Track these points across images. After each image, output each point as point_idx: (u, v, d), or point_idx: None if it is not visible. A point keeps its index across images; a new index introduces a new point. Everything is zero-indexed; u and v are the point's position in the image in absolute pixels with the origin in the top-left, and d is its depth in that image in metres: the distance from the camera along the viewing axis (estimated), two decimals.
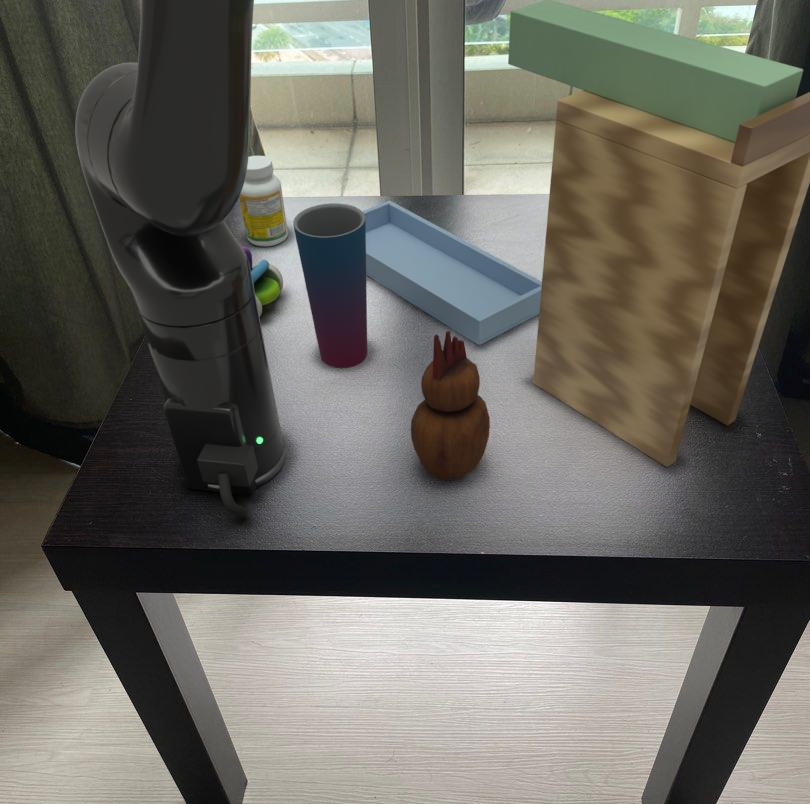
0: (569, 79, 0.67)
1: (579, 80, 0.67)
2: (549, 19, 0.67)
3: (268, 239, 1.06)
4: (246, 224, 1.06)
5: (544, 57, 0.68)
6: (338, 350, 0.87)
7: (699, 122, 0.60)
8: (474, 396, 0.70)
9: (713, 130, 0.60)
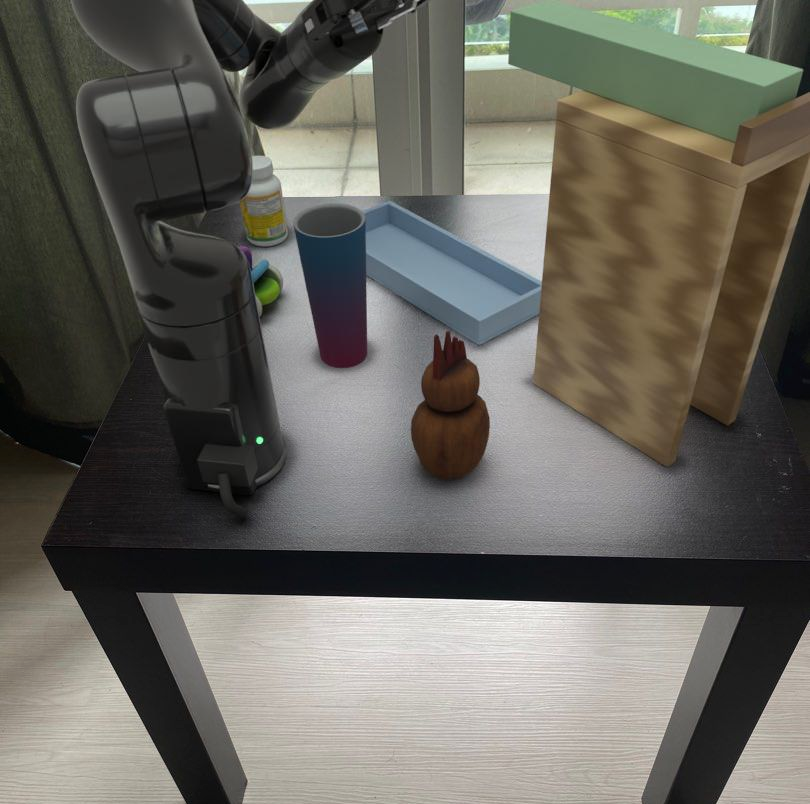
0: (569, 79, 0.67)
1: (579, 80, 0.67)
2: (549, 19, 0.67)
3: (268, 239, 1.06)
4: (246, 224, 1.06)
5: (544, 57, 0.68)
6: (338, 350, 0.87)
7: (699, 122, 0.60)
8: (474, 396, 0.70)
9: (713, 130, 0.60)
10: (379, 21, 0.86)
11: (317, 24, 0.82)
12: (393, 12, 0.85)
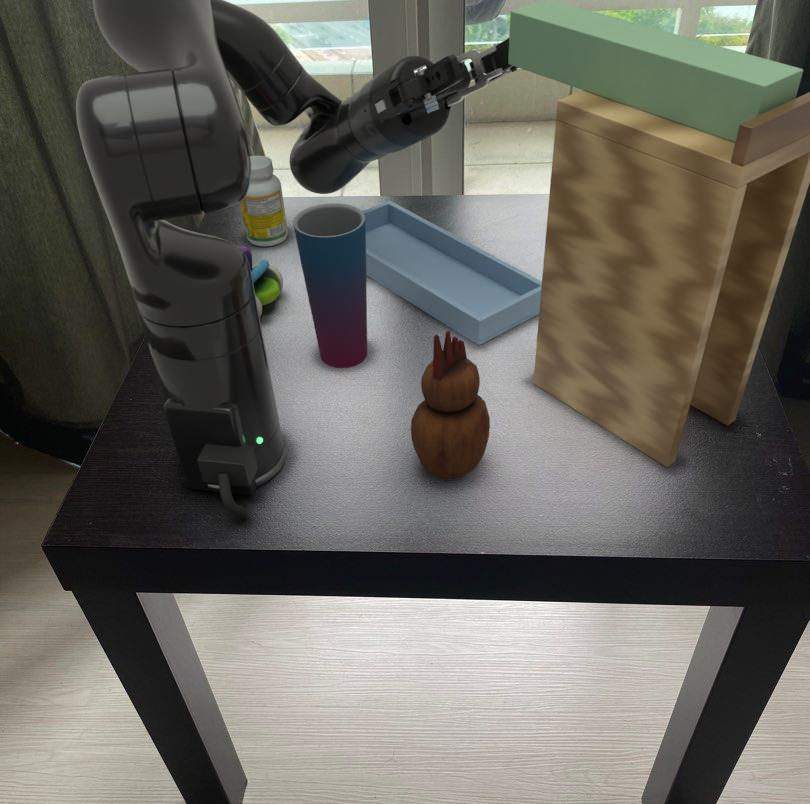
0: (569, 79, 0.67)
1: (579, 80, 0.67)
2: (549, 19, 0.67)
3: (269, 239, 1.06)
4: (246, 224, 1.06)
5: (544, 57, 0.68)
6: (338, 350, 0.87)
7: (699, 122, 0.60)
8: (474, 396, 0.70)
9: (713, 130, 0.60)
10: (450, 99, 0.83)
11: (390, 106, 0.79)
12: (465, 90, 0.82)
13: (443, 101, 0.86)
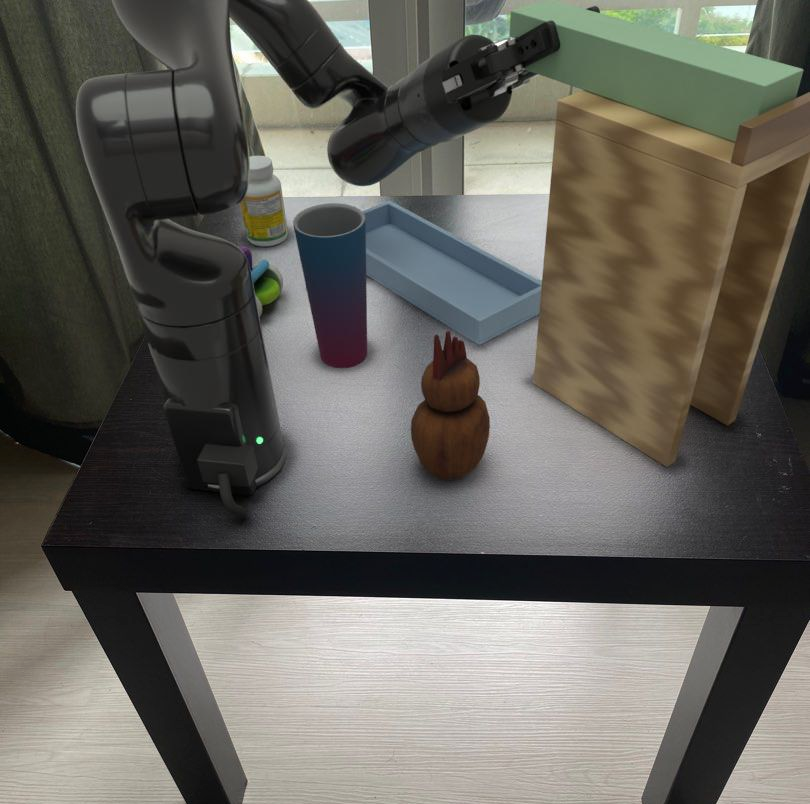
0: (569, 79, 0.67)
1: (579, 80, 0.67)
2: (549, 18, 0.67)
3: (269, 239, 1.06)
4: (246, 224, 1.06)
5: None
6: (338, 350, 0.87)
7: (699, 122, 0.60)
8: (474, 396, 0.70)
9: (713, 130, 0.60)
10: (514, 82, 0.76)
11: (469, 81, 0.71)
12: None
13: None
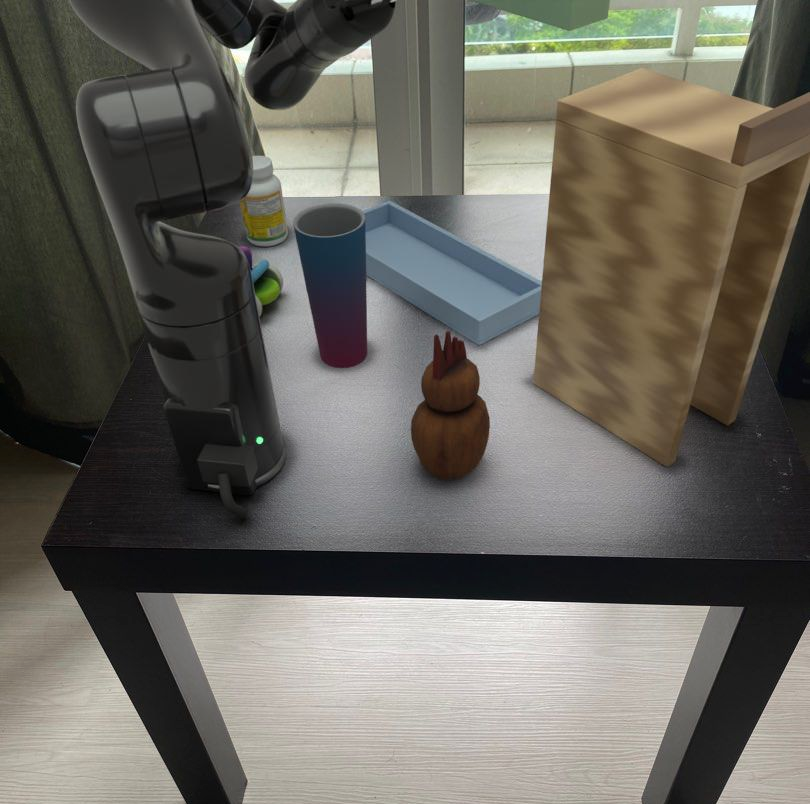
0: None
1: None
2: None
3: (268, 239, 1.06)
4: (246, 224, 1.06)
5: None
6: (338, 350, 0.87)
7: (529, 11, 0.67)
8: (474, 396, 0.70)
9: (541, 17, 0.67)
10: None
11: None
12: None
13: None
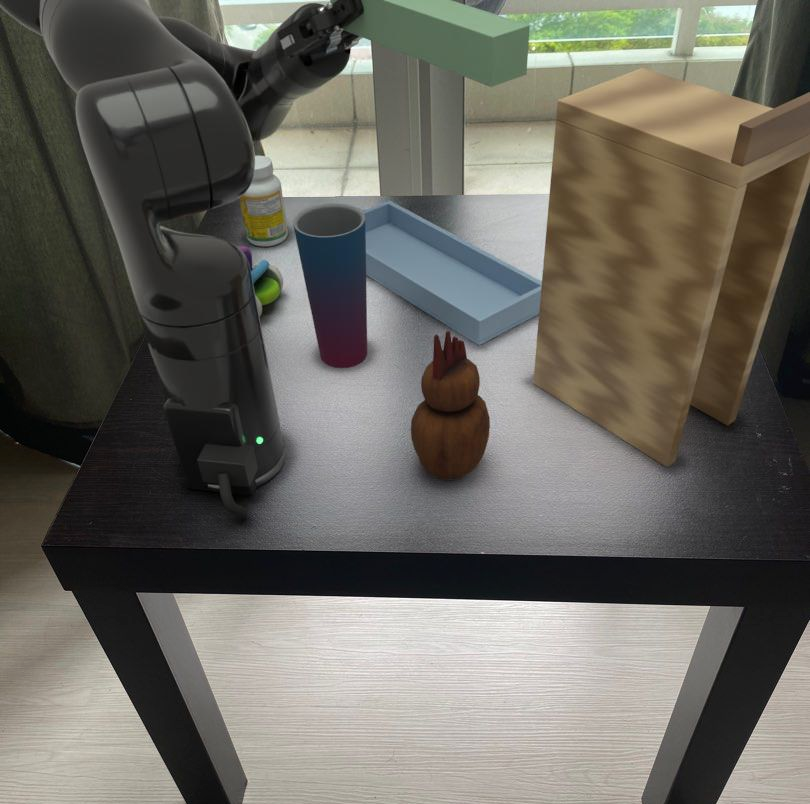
0: (373, 36, 0.83)
1: (379, 37, 0.82)
2: None
3: (268, 239, 1.06)
4: (246, 224, 1.06)
5: (355, 19, 0.84)
6: (338, 350, 0.87)
7: (458, 68, 0.76)
8: (474, 396, 0.70)
9: (467, 74, 0.76)
10: (346, 42, 0.92)
11: (299, 40, 0.86)
12: None
13: (342, 45, 0.94)
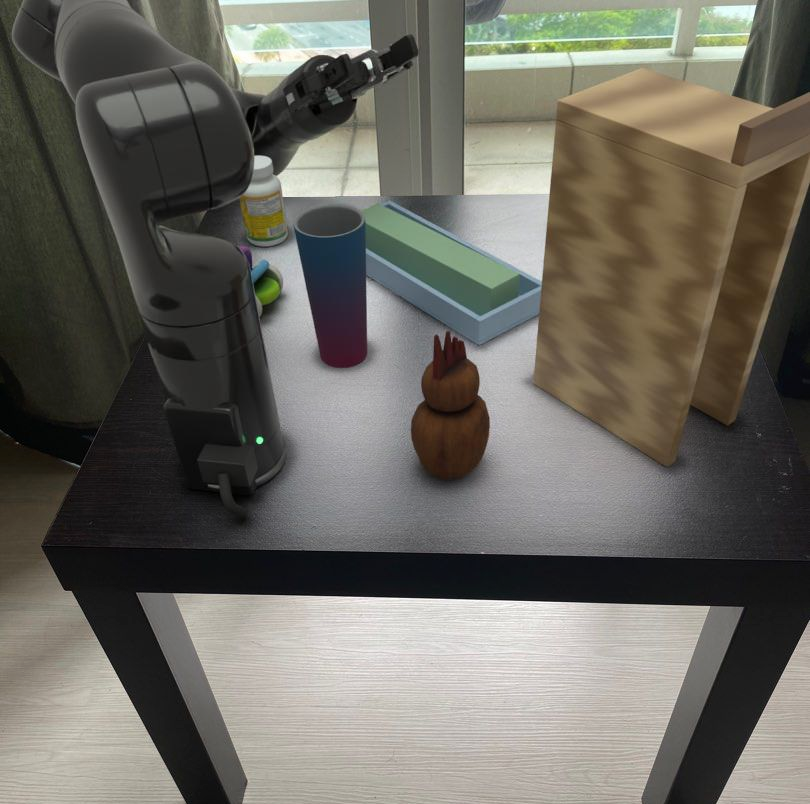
0: None
1: (395, 264, 1.00)
2: (374, 223, 1.01)
3: (268, 239, 1.06)
4: (246, 224, 1.06)
5: (373, 246, 1.02)
6: (338, 350, 0.87)
7: (462, 301, 0.94)
8: (474, 396, 0.70)
9: (470, 307, 0.94)
10: (353, 92, 0.95)
11: (297, 98, 0.91)
12: (365, 85, 0.95)
13: (349, 95, 0.98)
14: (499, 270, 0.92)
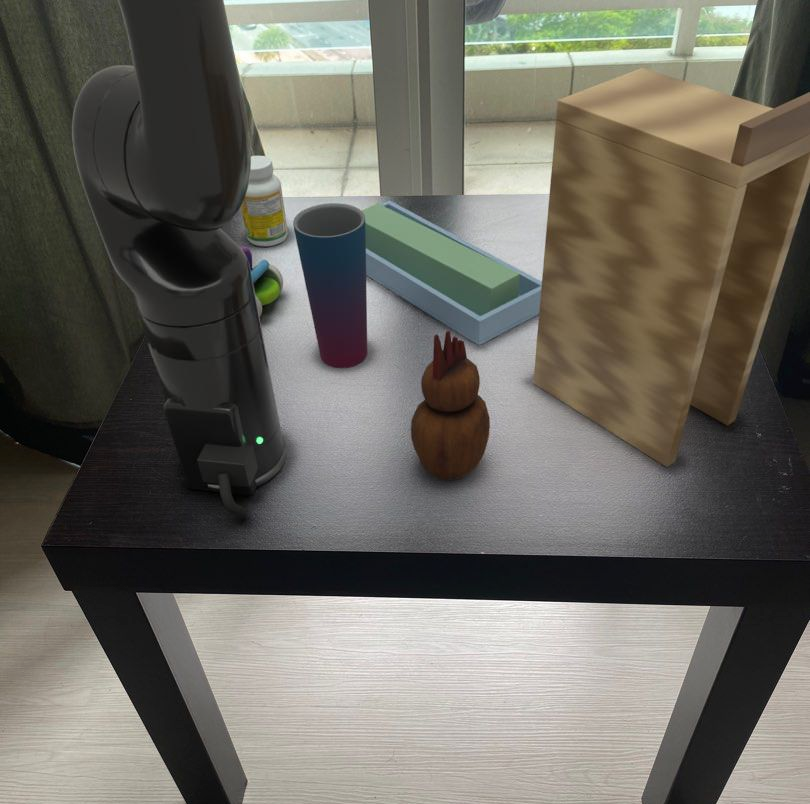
0: None
1: (395, 264, 1.00)
2: (374, 223, 1.01)
3: (269, 239, 1.06)
4: (246, 224, 1.06)
5: (373, 246, 1.02)
6: (338, 350, 0.87)
7: (462, 302, 0.94)
8: (474, 396, 0.70)
9: (470, 307, 0.94)
10: None
11: None
12: None
13: None
14: (499, 270, 0.92)
